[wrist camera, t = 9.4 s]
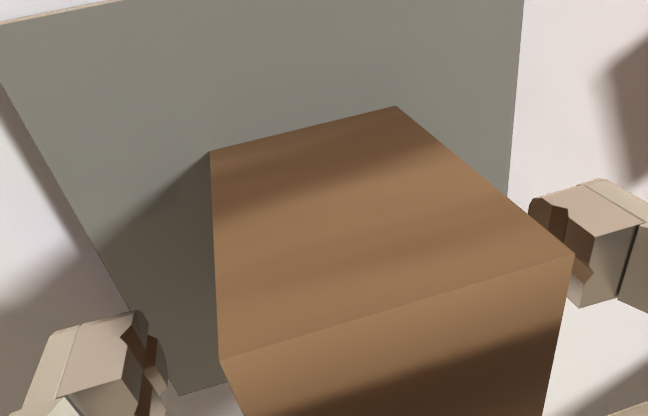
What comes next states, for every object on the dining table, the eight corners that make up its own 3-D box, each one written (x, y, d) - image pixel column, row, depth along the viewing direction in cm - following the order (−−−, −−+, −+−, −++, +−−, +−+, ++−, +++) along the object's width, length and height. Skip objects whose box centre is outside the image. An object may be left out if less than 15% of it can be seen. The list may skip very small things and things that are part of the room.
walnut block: (209, 150, 10) (218, 360, 5) (395, 105, 10) (575, 253, 5) (256, 293, 12) (294, 529, 7) (406, 250, 13) (535, 444, 8)
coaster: (-11, 23, 8) (-30, 31, 8) (508, -80, 10) (531, -81, 9) (180, 375, 14) (179, 396, 14) (485, 282, 16) (498, 297, 15)
